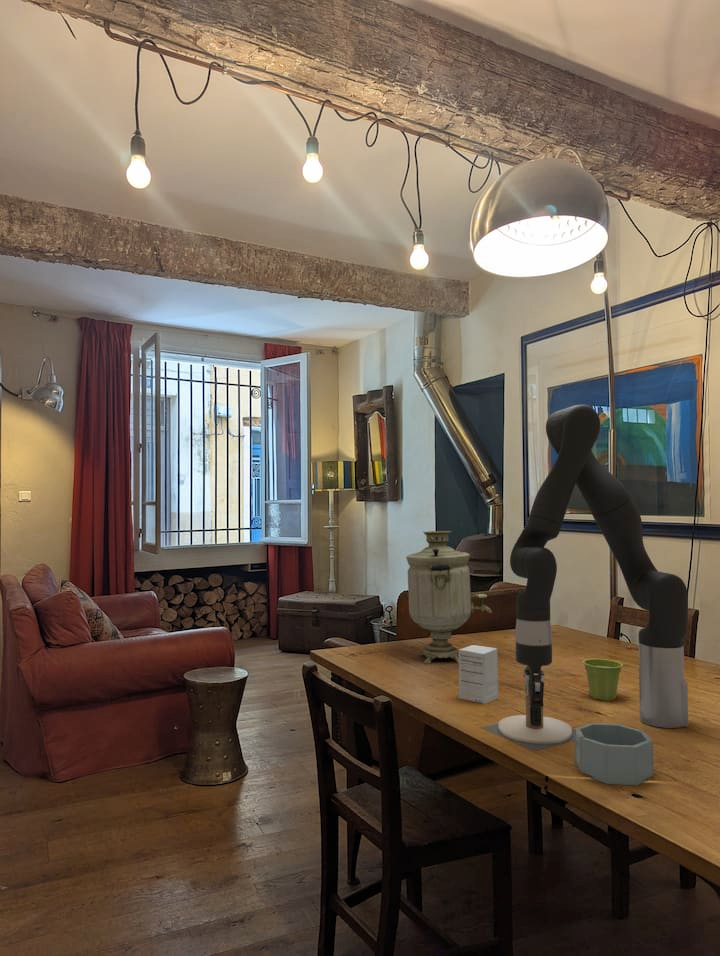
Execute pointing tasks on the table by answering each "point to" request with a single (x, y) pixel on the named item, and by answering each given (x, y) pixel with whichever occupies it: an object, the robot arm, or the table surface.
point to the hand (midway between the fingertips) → (534, 721)
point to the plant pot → (602, 678)
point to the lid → (535, 728)
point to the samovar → (440, 593)
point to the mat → (533, 747)
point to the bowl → (614, 753)
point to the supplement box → (478, 674)
